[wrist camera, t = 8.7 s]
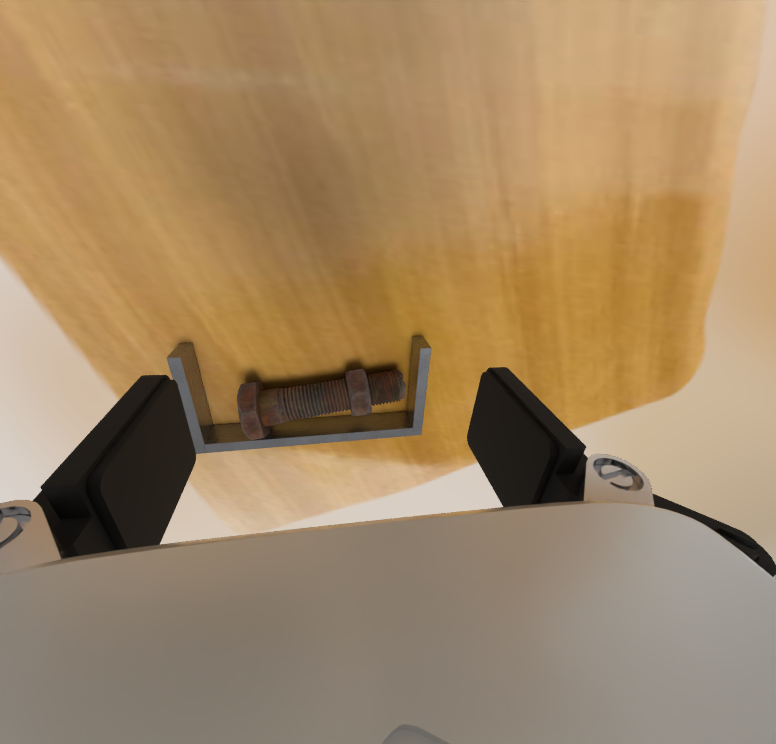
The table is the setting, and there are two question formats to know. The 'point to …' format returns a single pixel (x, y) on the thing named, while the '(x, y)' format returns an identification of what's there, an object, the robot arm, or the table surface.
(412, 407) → the dock
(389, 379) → the bolt
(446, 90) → the table surface
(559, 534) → the robot arm
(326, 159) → the table surface
